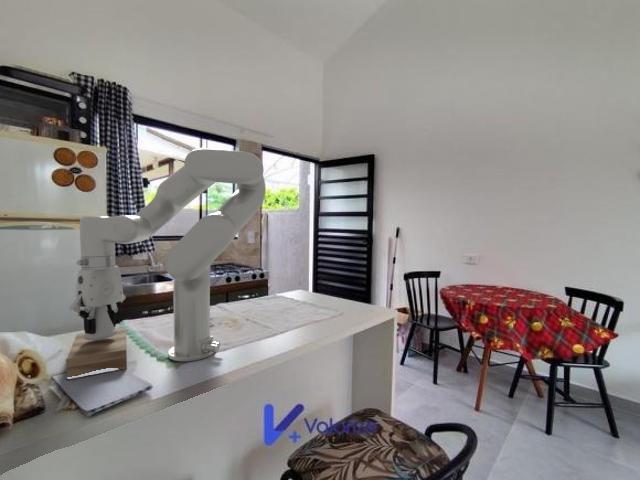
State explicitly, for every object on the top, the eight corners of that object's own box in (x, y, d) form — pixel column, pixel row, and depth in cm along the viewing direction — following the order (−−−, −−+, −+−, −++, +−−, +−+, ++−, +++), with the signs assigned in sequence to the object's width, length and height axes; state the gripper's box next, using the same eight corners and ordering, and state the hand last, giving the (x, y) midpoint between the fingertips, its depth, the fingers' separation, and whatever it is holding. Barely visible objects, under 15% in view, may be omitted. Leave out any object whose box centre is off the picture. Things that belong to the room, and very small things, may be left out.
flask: (100, 342, 82) (99, 303, 81) (76, 340, 83) (75, 302, 83) (122, 333, 89) (121, 297, 89) (100, 331, 90) (99, 296, 90)
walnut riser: (77, 351, 92) (77, 333, 92) (126, 343, 98) (126, 327, 98) (66, 380, 75) (66, 359, 75) (126, 368, 81) (126, 349, 81)
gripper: (75, 267, 76) (77, 342, 77) (136, 259, 92) (138, 322, 93) (53, 265, 78) (56, 339, 79) (117, 258, 94) (119, 319, 95)
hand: (100, 329), depth 86 cm, fingers closed on flask, 4 cm apart
